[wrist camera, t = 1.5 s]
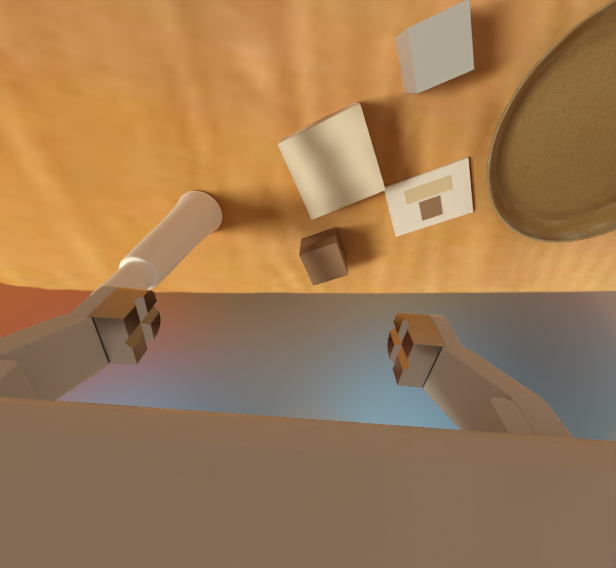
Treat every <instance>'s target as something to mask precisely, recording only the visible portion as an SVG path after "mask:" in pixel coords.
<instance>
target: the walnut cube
mask: <svg viewBox="0 0 616 568" xmlns="http://www.w3.org/2000/svg"><path fill="white" fill-rule="evenodd" d="M299 256H300V258H301V260H302V262H303V264H304V266H305V269H306V271H307V273H308V275H309V277H310V280H311V282H312V284H313V285H317V284H320V283H323V282H327V281H330V280H333V279H336V278H340V277H343V276H346V275H348V269H347V262H346V257H345V254H344V251H343V248H342V246H341V243H340V240H339V237H338V235H337V232H336V229H335V228H332V229H329V230H326V231H323V232H320V233H317V234H314V235H312V236H309V237H306V238H303V239H301V246H300V254H299Z"/></svg>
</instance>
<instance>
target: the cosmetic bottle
mask: <svg viewBox="0 0 616 568" xmlns="http://www.w3.org/2000/svg"><path fill="white" fill-rule="evenodd" d="M221 222H222V211H221V208H220V206H219V204H218V203H217V202H216V200H215V199H214V198H213V197H211V196H210V195H208V194H207V193H204V192H201V191H189V192H187V193H185V194H184V195H182V196H181V198H180V199H179V201H178V203H177V204H176V206H175V207H174V208H173V209H172V211H171V212H170V213H169V214H168V215H167V216H166V217H165V218H164V219H163V220H162V221H161V222H160V223H159V224H158V225H157V226H156V227H155V228H154V229H153V230H152V231H151V232H150V233H149V234H148V235H147V236H146V237H145V238H144V239H143V240H142V241H141V242H140V243H139V244H137V245H136V246H135V247H134V248H133V249H132V250H131V251H130V253H129V254H128V255H127V256H126V257H125V258H124V259H123V260H122V261H121V262H120V265H119V270H118V271H117V272H116V273H115V274H113V275H112V276H111V277H110V278H109V279H108V280H107V281H105V282H104V283H103V284H102V285H101V286H100V287H102V286H115V287H125V288H134V289H143V290H149V289H153V288H155V287H156V286H157V285H158V284H159V283H160V282H161V281H162V280H163V279H164V278H165V277H166V276H167V275H168V274H169V273H170V272H171V271H172V270H173V269H174V268H175V267H176V266H177V265H178V264H179V263H180V262H181V261H182V260H183V259H184V258H185V257H186V256H187V255H188V254H189V253H190V251H191V250H192V249H193V248H194V247H195V246H196V245H197V244H198V243H200V242H201V241H202V240H203V239H204V238H205V237H206V236H208V235H209V234H211V233H212V232H214V231H215V230H217V229H218V228H219V226H220V225H221ZM100 287H99V288H100ZM99 288H97V289H96V290H98V289H99ZM96 290H95V291H96ZM95 291H94V292H95ZM94 292H93V293H94ZM93 293H92V294H93ZM92 294H91V295H92ZM91 295H90V296H91Z"/></svg>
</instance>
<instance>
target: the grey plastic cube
mask: <svg viewBox="0 0 616 568" xmlns="http://www.w3.org/2000/svg"><path fill="white" fill-rule="evenodd" d="M395 39H396V44H397V50H398V56H399V61H400V67H401V73H402V78H403V84H404V90H405V93H414V94H418V93H420V92H423V91H425V90H427V89H430V88H432V87H434V86H437V85H439V84H441V83H444V82H446V81H448V80H451V79H453V78H455V77H458V76H460V75H462V74H465V73H467V72H469V71H472V70H474V60H473V45H472V30H471V15H470V0H465V1H463V2H461V3H459V4H457V5H455V6H453V7H451V8H449V9H447V10H445V11H442V12H440V13H438V14H436V15H434V16H432V17H430V18H428V19H426V20H424V21H422V22H420V23H418V24H416V25H414V26H412V27H409V28H407V29H406V30H405V31H403V32H402V33H400V34H399V35H398V36H396V37H395Z"/></svg>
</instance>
